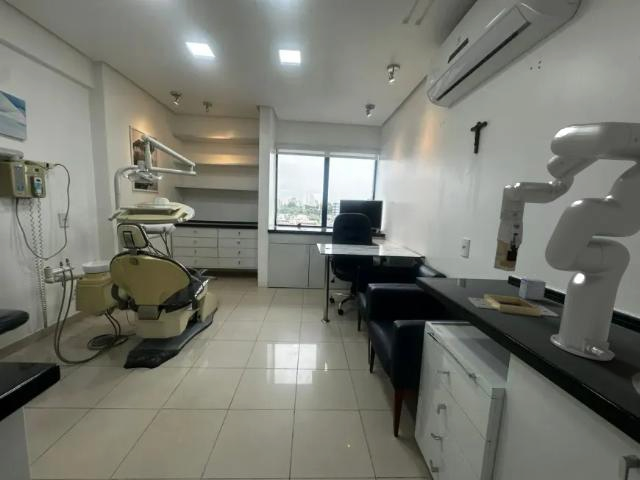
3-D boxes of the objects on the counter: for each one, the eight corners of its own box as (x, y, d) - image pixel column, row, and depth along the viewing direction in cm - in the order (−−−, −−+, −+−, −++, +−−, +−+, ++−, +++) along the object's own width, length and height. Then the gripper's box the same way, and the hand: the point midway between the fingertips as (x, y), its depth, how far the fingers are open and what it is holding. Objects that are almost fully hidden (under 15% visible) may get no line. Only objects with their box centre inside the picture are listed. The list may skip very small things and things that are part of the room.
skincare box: (493, 268, 111) (496, 239, 110) (500, 268, 113) (504, 239, 111) (508, 271, 105) (512, 241, 104) (516, 271, 107) (520, 241, 105)
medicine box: (536, 297, 123) (539, 279, 122) (543, 300, 119) (546, 281, 118) (518, 295, 124) (521, 277, 123) (524, 299, 120) (527, 280, 119)
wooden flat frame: (561, 318, 98) (562, 312, 97) (479, 309, 103) (479, 302, 102) (538, 305, 111) (539, 299, 111) (466, 297, 116) (467, 292, 116)
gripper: (535, 216, 98) (528, 263, 99) (510, 216, 115) (504, 257, 116) (512, 215, 99) (506, 262, 101) (491, 215, 116) (486, 255, 118)
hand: (505, 259), depth 108 cm, fingers closed on skincare box, 7 cm apart
